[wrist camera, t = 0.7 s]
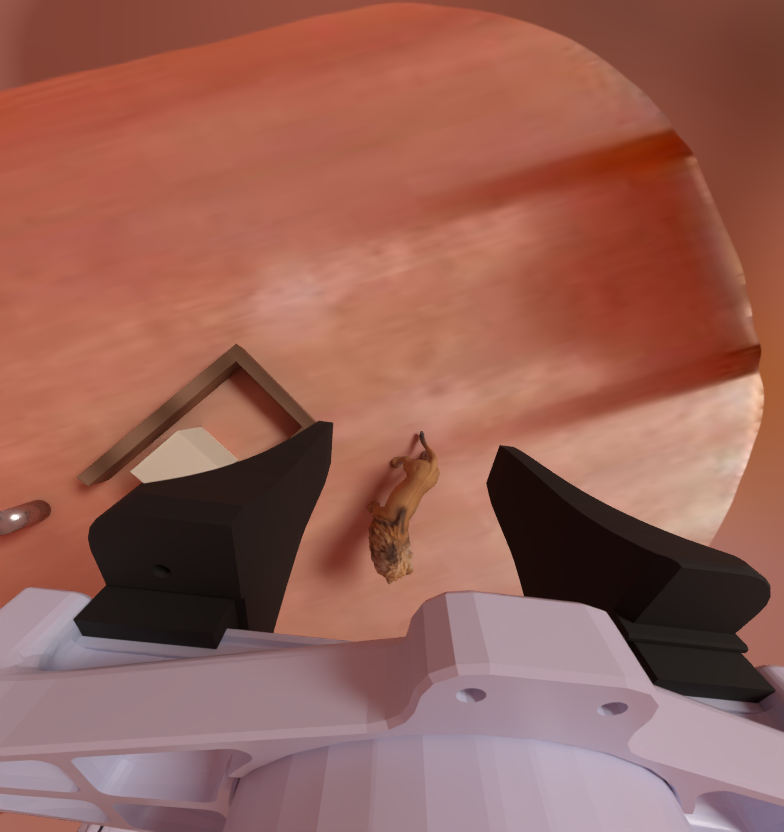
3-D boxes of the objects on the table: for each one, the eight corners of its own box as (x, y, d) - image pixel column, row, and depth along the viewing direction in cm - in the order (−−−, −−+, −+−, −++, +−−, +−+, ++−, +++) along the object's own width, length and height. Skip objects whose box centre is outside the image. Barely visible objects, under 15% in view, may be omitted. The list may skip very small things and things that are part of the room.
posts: (149, 608, 29) (129, 630, 26) (18, 511, 27) (-20, 524, 24) (165, 593, 29) (147, 613, 26) (37, 495, 27) (1, 506, 24)
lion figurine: (393, 549, 35) (415, 598, 26) (353, 537, 34) (361, 583, 25) (438, 438, 35) (473, 448, 27) (400, 422, 34) (424, 427, 26)
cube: (201, 493, 30) (176, 510, 25) (163, 460, 29) (129, 471, 24) (238, 460, 31) (221, 470, 26) (202, 426, 30) (177, 430, 25)
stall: (190, 545, 30) (178, 558, 27) (98, 471, 28) (76, 477, 25) (319, 425, 32) (319, 426, 30) (243, 348, 30) (236, 343, 28)
